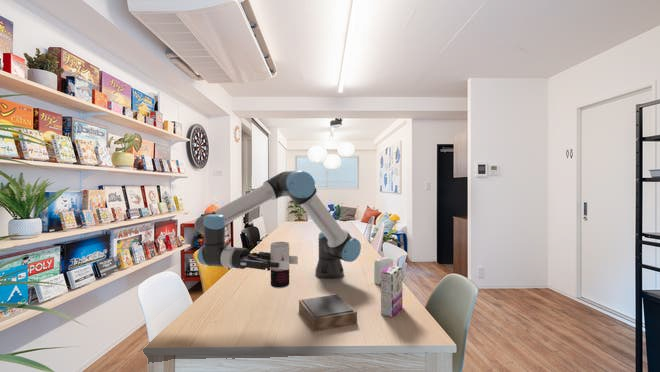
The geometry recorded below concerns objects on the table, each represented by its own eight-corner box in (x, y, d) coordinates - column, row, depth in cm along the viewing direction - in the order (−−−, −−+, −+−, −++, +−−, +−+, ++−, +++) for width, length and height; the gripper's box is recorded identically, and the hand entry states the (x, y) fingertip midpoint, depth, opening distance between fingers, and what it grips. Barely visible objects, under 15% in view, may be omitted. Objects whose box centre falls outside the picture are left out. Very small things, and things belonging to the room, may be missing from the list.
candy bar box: (390, 304, 127) (391, 264, 126) (402, 307, 124) (403, 266, 124) (379, 315, 117) (380, 271, 117) (392, 318, 115) (392, 273, 114)
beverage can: (289, 281, 115) (288, 241, 115) (289, 288, 109) (289, 245, 108) (270, 283, 114) (270, 242, 114) (270, 289, 107) (270, 245, 107)
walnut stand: (336, 304, 127) (336, 293, 127) (357, 323, 111) (357, 310, 111) (299, 310, 121) (299, 299, 121) (314, 331, 105) (314, 318, 105)
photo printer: (388, 279, 159) (388, 255, 159) (394, 281, 155) (394, 256, 155) (372, 283, 153) (373, 258, 153) (378, 285, 150) (379, 259, 149)
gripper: (250, 261, 126) (303, 266, 119) (219, 275, 107) (280, 282, 100) (250, 242, 126) (303, 246, 119) (219, 253, 107) (280, 259, 100)
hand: (293, 262), depth 109 cm, fingers closed on beverage can, 6 cm apart
